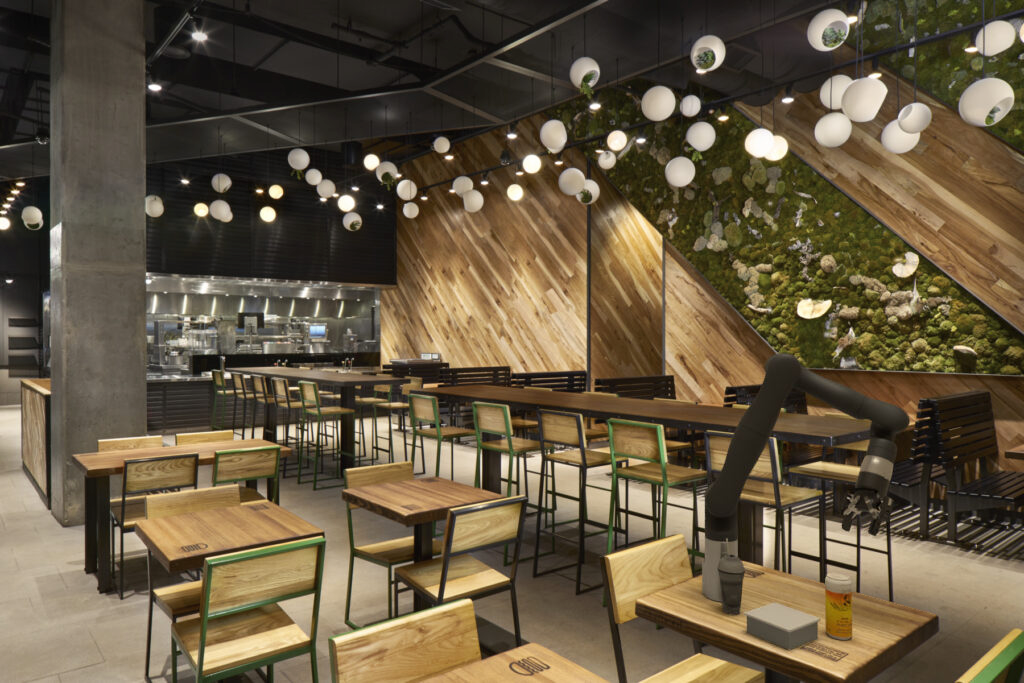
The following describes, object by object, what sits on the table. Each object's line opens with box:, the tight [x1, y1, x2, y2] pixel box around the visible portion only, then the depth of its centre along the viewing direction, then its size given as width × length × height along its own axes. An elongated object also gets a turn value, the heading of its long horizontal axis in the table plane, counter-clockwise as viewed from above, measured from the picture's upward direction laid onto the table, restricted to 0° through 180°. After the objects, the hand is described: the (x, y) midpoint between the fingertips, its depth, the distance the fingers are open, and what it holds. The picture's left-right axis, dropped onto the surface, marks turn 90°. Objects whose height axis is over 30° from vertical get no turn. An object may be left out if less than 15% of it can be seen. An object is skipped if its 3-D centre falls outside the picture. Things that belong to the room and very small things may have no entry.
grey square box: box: [743, 602, 822, 650], centre depth 166 cm, size 13×13×5 cm
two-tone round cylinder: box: [824, 572, 853, 641], centre depth 166 cm, size 6×6×15 cm
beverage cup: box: [717, 538, 746, 616], centre depth 182 cm, size 7×7×20 cm
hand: (858, 532), depth 173 cm, fingers open, 8 cm apart
